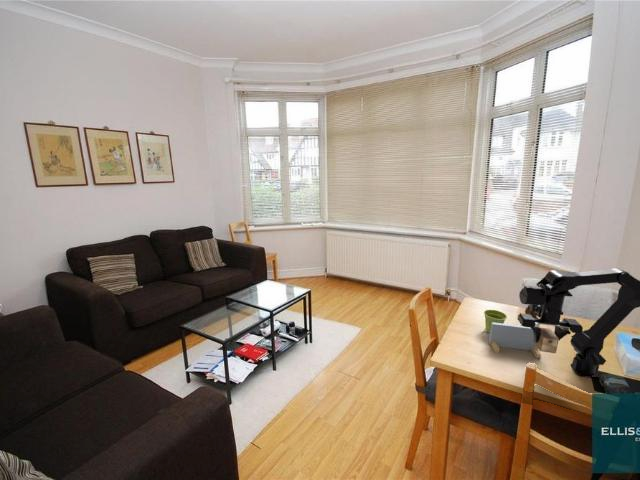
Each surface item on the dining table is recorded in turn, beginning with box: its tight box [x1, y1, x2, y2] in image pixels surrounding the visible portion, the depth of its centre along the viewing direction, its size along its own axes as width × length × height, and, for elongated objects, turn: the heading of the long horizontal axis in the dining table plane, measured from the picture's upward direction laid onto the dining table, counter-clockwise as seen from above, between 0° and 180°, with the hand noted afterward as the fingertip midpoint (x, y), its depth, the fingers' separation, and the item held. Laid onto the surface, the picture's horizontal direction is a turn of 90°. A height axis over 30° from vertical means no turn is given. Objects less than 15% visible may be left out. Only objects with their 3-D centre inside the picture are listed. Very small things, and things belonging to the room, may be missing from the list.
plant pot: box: [483, 309, 508, 334], centre depth 141 cm, size 9×9×9 cm
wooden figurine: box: [520, 304, 539, 326], centre depth 140 cm, size 7×6×15 cm
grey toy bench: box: [488, 322, 542, 359], centre depth 126 cm, size 18×6×10 cm, turn 74°
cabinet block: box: [533, 326, 560, 354], centre depth 114 cm, size 5×7×6 cm
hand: (544, 343), depth 114 cm, fingers closed on cabinet block, 5 cm apart
